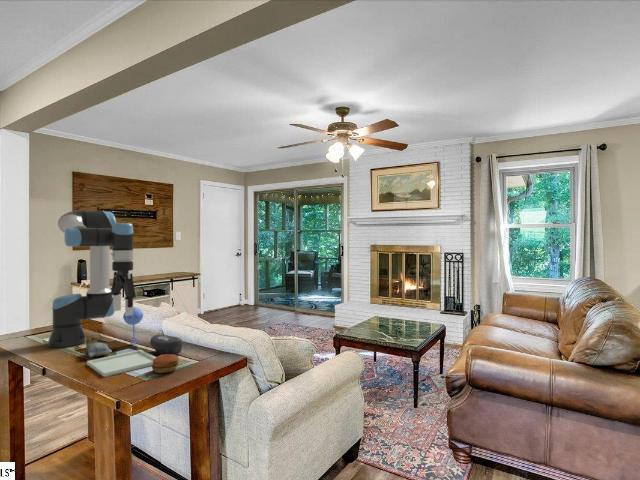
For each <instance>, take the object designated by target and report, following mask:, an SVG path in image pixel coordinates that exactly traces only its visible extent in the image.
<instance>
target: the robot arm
mask: <svg viewBox="0 0 640 480" xmlns="http://www.w3.org/2000/svg"><path fill="white" fill-rule="evenodd" d="M57 222H58V223H57V226H58V228H59V230H60V231H61V232H63V234H64V244H65V246H66V247H74V248H75V247H76V248H78V247H89V289H88V290H87V291H86V293H85V294H86V295H83V296H82V293H72V294H67V295H61V296H58V297H56V298H54V299H53V301H52V307H51V309H52V330H51V334H50V335H49V337H48V341H47V345H48V348H57V349H58V348H69V347H74V346H77V345H78V346H79V345H82V344H84V343H85V342H87V335H86V333H85V330H84V329H83V327H82V326H83V325H82V324H83V323H82V321H85V320H93V319H104V318H109V317H111V316H113V315H114V314H115V312H118V311H119V312H120V311H122V288H123V291H124V294H125V297H124V305H125V307H124V308H125V309H124V313H125V316H129V315H133V307H134V298H136V297H137V295H136V291H135V286H134V285H135V284H134V280H133V277H134V276H133V273H130V271H134V262H133V261H134V226H133V223H131V222H128V223H127V222H117V219H116V216H115V214H114V213H113V212H111V211H104V210H102V211H101V210H82V209H81V210H72V211H69V212H66V213H64V214H63V215H61V216H60V218H59V219H58V221H57ZM110 247H112V248H111V249H112V251H111V253H110V250H111V249H110ZM110 256H112V257H111V258H112V262H111V261H110ZM110 262H111V263H112V265H111V264H110ZM110 265H111V267H112V271H114V272H113V280H112V285H111V287H110V272H111V271H110Z"/></svg>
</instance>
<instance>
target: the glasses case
mask: <svg viewBox="0 0 640 480" xmlns="http://www.w3.org/2000/svg"><path fill="white" fill-rule="evenodd" d="M149 343H150V344H149V345H150V346H151V348H153V350H155V352H156V353H158V354H160V355H163V354H173V355H176V356H177V355H179V354H180V353H181V352H182V349H183V343H184V341H183V340H182V338H180V337H178V336H174V335H168V334H159V333H157V334H155V335H152V337H151V338H150V342H149Z"/></svg>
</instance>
